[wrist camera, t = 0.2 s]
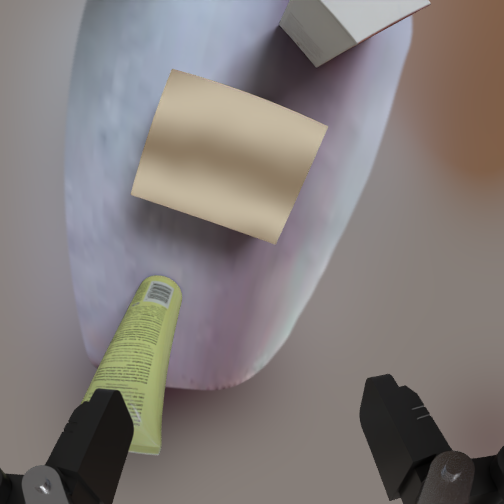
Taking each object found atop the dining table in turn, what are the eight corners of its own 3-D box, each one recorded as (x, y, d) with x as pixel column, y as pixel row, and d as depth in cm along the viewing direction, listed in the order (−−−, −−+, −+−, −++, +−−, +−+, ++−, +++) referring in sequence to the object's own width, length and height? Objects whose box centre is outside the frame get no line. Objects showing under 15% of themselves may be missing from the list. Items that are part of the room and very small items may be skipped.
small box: (315, 69, 24) (355, 47, 15) (276, 24, 22) (296, -21, 13) (376, 31, 22) (434, 4, 13) (340, -12, 20) (384, -56, 11)
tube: (163, 322, 35) (124, 472, 17) (128, 297, 33) (63, 441, 15) (192, 292, 33) (160, 455, 15) (154, 264, 32) (87, 418, 14)
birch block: (185, 78, 24) (172, 68, 19) (310, 123, 26) (328, 126, 21) (150, 178, 28) (130, 194, 22) (268, 219, 30) (275, 244, 25)
